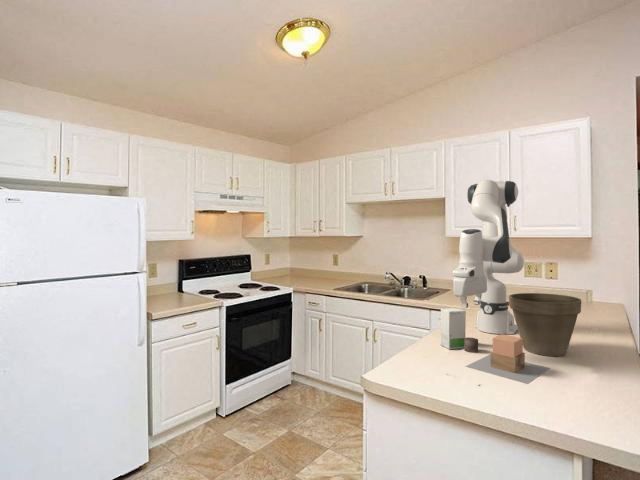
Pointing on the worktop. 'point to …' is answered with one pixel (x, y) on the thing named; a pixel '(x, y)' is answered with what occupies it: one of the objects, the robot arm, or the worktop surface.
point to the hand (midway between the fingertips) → (471, 306)
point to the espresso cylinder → (471, 345)
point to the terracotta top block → (508, 345)
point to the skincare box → (453, 328)
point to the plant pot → (545, 321)
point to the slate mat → (522, 376)
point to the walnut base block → (508, 362)
